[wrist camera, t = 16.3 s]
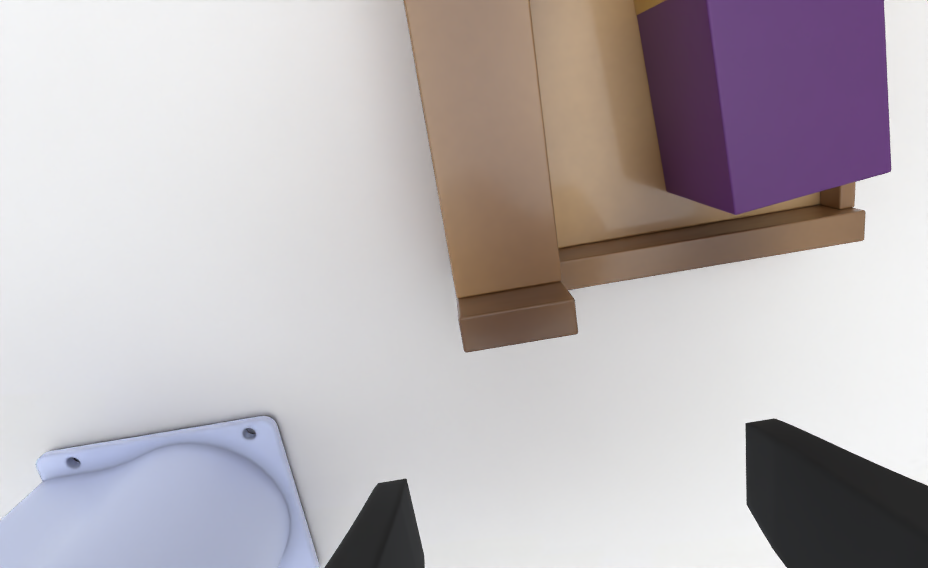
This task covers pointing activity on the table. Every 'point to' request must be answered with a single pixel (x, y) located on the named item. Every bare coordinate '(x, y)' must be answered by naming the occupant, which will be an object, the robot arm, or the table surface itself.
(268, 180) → the table surface
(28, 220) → the table surface
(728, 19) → the chocolate bar
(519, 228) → the tray
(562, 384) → the table surface
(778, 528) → the robot arm
